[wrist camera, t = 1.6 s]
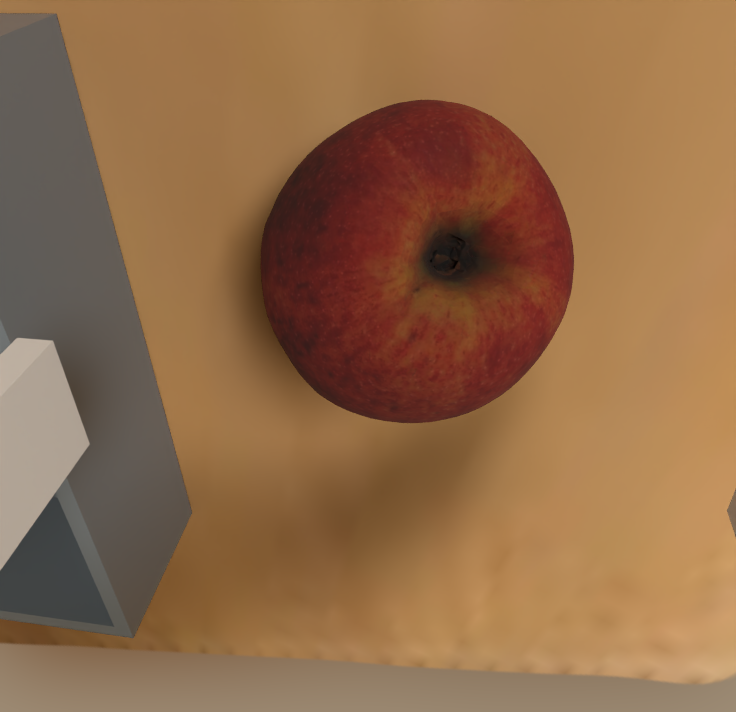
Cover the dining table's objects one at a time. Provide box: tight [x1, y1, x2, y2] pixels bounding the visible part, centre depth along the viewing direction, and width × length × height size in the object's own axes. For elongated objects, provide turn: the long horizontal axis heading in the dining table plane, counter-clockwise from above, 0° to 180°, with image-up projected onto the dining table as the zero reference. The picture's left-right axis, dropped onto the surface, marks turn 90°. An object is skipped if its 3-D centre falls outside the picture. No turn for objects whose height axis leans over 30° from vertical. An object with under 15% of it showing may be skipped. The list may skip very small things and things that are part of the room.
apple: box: [261, 100, 574, 423], centre depth 17 cm, size 7×8×8 cm
